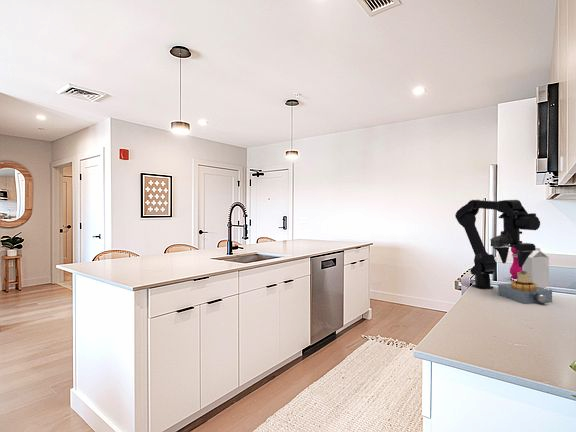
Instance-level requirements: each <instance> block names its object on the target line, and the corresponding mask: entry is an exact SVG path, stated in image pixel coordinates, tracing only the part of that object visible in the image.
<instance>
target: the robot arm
mask: <svg viewBox="0 0 576 432" xmlns="http://www.w3.org/2000/svg"><path fill="white" fill-rule="evenodd" d="M480 209H483V210H484V209H485V210H494V211H497V212H498V213H502V214H500V215H499V216H498V219H503V220H502V223H503V224H502V225H503V230H501V231H500V234H499V235H497V236H494V237H492V238H490V239H489V240H490V247H492V248H493V249H494V250H495V251H497V252H498V255H499V258H500V260H501V262H502V264H506V263H507V261H508V254H509V251H510V248H511V247H513V248H515V249H516V250H517V251H515V252H516V253H517V255H518V264H519V267H522V266H523V264H524V263H525V261H526V259H527V258H528V256H529V255H530V254H531V252H533V251H535V250H536V249H535V248H536V245H535V244H534V243H531V242H523V240H520V238H521V235H522V234H523V231H522V230H524V231H526V230H528V231H538V229H539V228H540V226H541V221H540V219H539V217H538V216H537V214H536V213H533V212H532V213H528V212H527V210H526V209H525V207H524V206H523V204H522V202H521V201H520V200H519V199H503V200H483V199H482V200H481V199H471V200H469V201H468V202H467V203H466V204H465V205H463V206H461V207H460V208H459V209H458V210H457V211H456V212H455V214H454V215H455V219H456V221H457V222H458V223H457V224H459V225H460V226H462V228H463V229H464V231H465V233H466V236H467V238H468V241H469V243H470V246H471V248H472V251H473V253H474V258H473V264H474V265H473V266H472V267H471V269H470V273H471V275H473V276H474V283H473V284H472V287H475V288H478V289H481V290H482V289H484V290H485V289H493V288H494V286H492V285H491V275H494V274H495V273H494V272H495V271H496V268H497V261H496V259H495V256H494V254H489V253H488V252H487V250H486V248H485V245H484V243H483V240H482V239H481V235H480V234H479V231H478V229H477V227H476V221H477V217H476V216H477V215H478V213H479V211H480ZM513 245H514V246H513Z"/></svg>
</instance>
